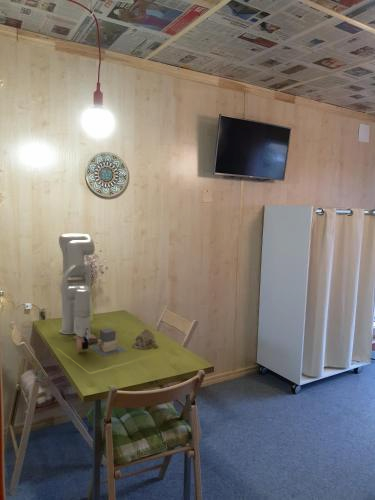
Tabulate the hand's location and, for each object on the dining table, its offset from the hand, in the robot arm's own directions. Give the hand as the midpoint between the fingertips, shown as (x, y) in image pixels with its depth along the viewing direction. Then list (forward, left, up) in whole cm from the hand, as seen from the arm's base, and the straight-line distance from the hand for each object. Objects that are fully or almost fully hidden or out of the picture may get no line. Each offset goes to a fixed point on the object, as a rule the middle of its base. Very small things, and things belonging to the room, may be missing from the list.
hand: (82, 346), depth 193 cm
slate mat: (+3, +13, -4) cm, 14 cm away
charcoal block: (+3, +13, +2) cm, 13 cm away
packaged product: (-16, +10, -5) cm, 20 cm away
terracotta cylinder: (0, 0, -1) cm, 1 cm away
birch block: (+3, +13, -3) cm, 13 cm away
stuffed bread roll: (+10, +32, -4) cm, 34 cm away
